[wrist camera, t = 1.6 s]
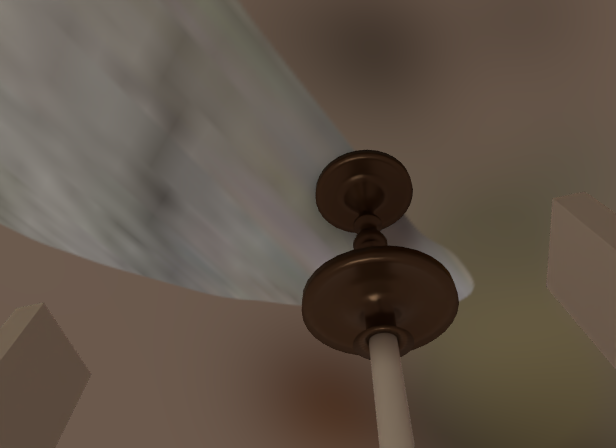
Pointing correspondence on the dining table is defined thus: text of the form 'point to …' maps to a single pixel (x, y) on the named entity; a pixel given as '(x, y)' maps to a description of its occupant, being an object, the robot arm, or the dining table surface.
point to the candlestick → (376, 283)
